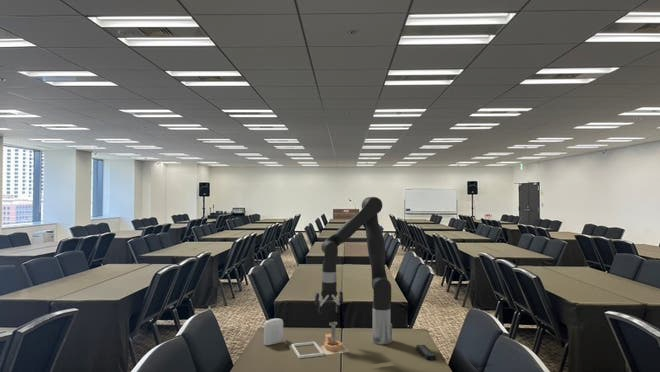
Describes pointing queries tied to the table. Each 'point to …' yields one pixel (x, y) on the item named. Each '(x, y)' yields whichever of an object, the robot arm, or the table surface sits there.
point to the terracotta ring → (328, 344)
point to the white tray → (307, 354)
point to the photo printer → (273, 331)
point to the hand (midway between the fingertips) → (328, 312)
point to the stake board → (333, 342)
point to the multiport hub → (426, 352)
